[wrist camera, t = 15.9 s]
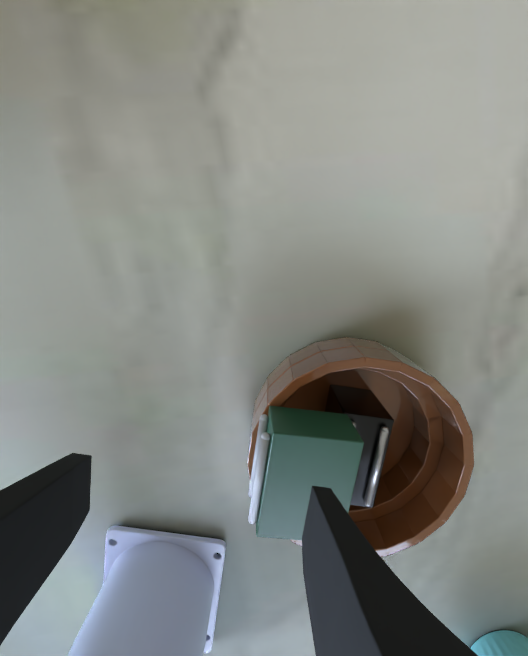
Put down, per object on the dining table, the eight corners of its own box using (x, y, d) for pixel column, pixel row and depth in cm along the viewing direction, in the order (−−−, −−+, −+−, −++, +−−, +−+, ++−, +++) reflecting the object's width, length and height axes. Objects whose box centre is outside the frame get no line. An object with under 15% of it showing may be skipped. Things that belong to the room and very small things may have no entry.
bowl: (407, 509, 22) (442, 572, 18) (242, 486, 22) (235, 544, 18) (450, 349, 20) (502, 376, 15) (266, 323, 20) (265, 342, 15)
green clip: (341, 544, 15) (246, 536, 14) (328, 503, 17) (247, 495, 17) (364, 442, 14) (263, 431, 13) (347, 413, 16) (261, 403, 16)
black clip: (354, 464, 21) (375, 514, 17) (315, 458, 21) (326, 507, 17) (371, 389, 20) (398, 424, 16) (329, 383, 20) (345, 416, 16)
